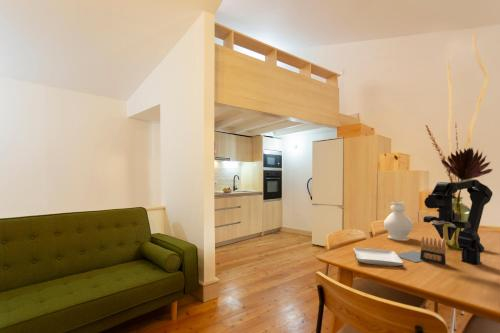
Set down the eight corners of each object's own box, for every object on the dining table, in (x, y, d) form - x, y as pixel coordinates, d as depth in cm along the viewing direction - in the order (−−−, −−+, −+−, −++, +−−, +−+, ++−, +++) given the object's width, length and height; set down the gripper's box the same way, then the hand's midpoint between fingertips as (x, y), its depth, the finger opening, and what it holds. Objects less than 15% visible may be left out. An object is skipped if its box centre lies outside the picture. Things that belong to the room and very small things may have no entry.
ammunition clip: (445, 263, 134) (446, 239, 134) (445, 264, 132) (445, 240, 132) (420, 258, 141) (421, 235, 141) (420, 259, 139) (420, 236, 139)
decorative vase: (392, 234, 197) (391, 200, 197) (418, 239, 182) (417, 202, 183) (379, 237, 187) (378, 201, 187) (405, 243, 172) (405, 204, 173)
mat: (437, 257, 143) (437, 257, 143) (415, 262, 136) (415, 262, 136) (413, 251, 155) (413, 250, 155) (392, 255, 147) (392, 254, 147)
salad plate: (393, 255, 148) (393, 249, 148) (404, 269, 127) (404, 262, 127) (352, 252, 154) (352, 246, 154) (357, 265, 133) (357, 258, 133)
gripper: (476, 208, 126) (477, 241, 126) (435, 204, 143) (435, 233, 143) (463, 210, 122) (464, 244, 121) (422, 205, 138) (422, 235, 138)
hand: (446, 239), depth 131 cm, fingers open, 3 cm apart
